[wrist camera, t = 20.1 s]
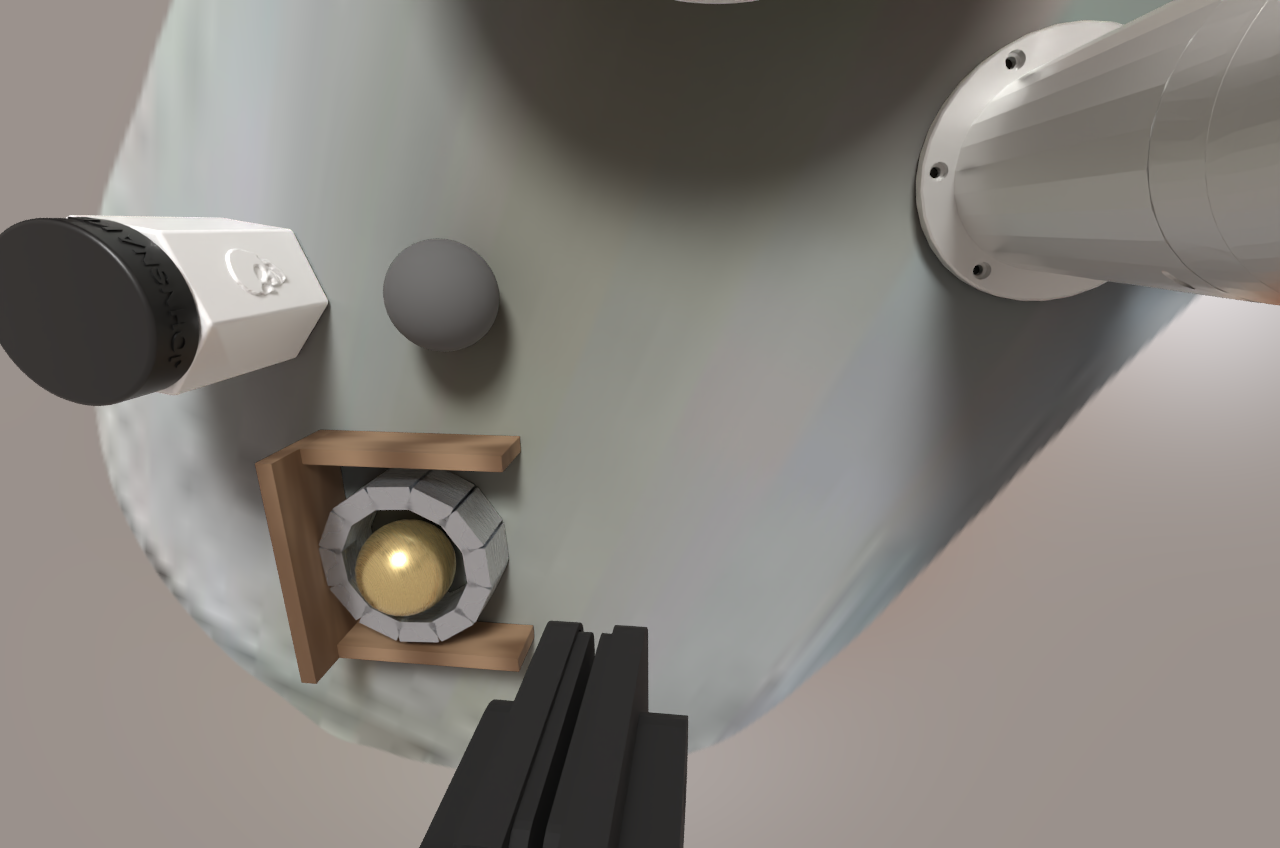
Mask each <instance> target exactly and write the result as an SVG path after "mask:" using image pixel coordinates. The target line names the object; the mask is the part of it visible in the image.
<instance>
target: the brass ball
mask: <svg viewBox="0 0 1280 848" xmlns="http://www.w3.org/2000/svg"><path fill="white" fill-rule="evenodd" d="M455 571H456V556H455V552H454V549H453V546H452V544H451V542H450V540H449V539H448V537H447V536H446V535H445V534H444V533H443V532H442V531H441V530H440V529H438V528H437V527H436V526H434V525H432V524H430V523H427V522H424V521H421V520H414V519H405V520H399V521H395V522H392V523H389V524H387V525H385V526H383V527H381V528H380V529H378V530H377V531H375V532H374V533H373V534H372V535H371V536H370V537H369V538H368V539H367V540H366V542H365V543H364V545H363V546H362V548H361V550H360V552H359V554H358V557H357V561H356V567H355V577H356V582H357V586H358V589H359V591H360V593H361V595H362V596H363V597H364V599H365V600H366V601H367V602H368V603H369V604H370V605H371V606H372V607H374V608H375V609H377V610H379V611H380V612H383V613H386V614H389V615H393V616H410V615H415V614H418V613H421V612H423V611H426V610H428V609H429V608H431V607H432V606H434V605H435V604H436V603H438V602H439V601H440V600H441V599H442V598H443V597H444V596H445V594H446V593H447V591H448V590H449V588H450V586H451V584H452V582H453V579H454V576H455Z"/></svg>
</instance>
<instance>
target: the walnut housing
mask: <svg viewBox="0 0 1280 848" xmlns="http://www.w3.org/2000/svg"><path fill="white" fill-rule="evenodd" d="M520 452H521V446H520V436H494V435H464V434H433V433H403V432H372V431H341V430H318V431H317V432H315V433H313V434H311V435H309V436H307V437H305V438H303V439H301V440H299V441H297V442H295V443H293V444H291V445H289V446H287V447H285V448H283V449H282V450H280V451H278V452H276V453H274V454H272V455H270V456H268V457H266V458H264V459H262V460H260V461H258V462H256V463H255V467H256V472H257V476H258V481H259V486H260V490H261V495H262V500H263V504H264V509H265V514H266V518H267V523H268V528H269V532H270V537H271V542H272V546H273V551H274V556H275V560H276V565H277V570H278V574H279V579H280V584H281V588H282V593H283V598H284V602H285V607H286V612H287V616H288V621H289V626H290V630H291V635H292V640H293V644H294V649H295V654H296V658H297V663H298V668H299V672H300V677H301V682H302V683H313V684H317V682H318V681H319V680H320V679H321V678H322V677H323V676H324V674H325V673H326V672H327V671H328V670H329V669H330V668H331V666H332V665H333V664H334V663H335V662H336V661H337V660H338V658H351V659H363V660H376V661H389V662H402V663H415V664H427V665H440V666H453V667H466V668H479V669H491V670H504V671H517V672H519V671H520V668H521V666H522V664H523V662H524V659H525V657H526V655H527V653H528V650H529V648H530V646H531V644H532V641H533V639H534V629H533V625H519V624H504V623H490V622H475V623H474V624H473V625H472V626H470V627H468V628H466V629H464V630H462V631H461V632H459V633H457V634H455V635H453V636H451V637H450V638H448V639H446V640H444V641H441V640H440V641H439V642H400V640H399V638H398V639H397V641H396V640H394V639H392V638H390V637H388V636H386V635H384V634H382V633H380V632H378V631H376V630H374V629H372V628H369V627H367V626H365V625H363V624H361V623H359V622H360V619H361V618H359V619H358V620H356V619H355V618H354V617H353V616H352V615H351V613H350V612H349V611H348V610H347V609H346V608H345V606H344V605H343V604H342V603H341V602H340V601H339V599H338V598H337V597H336V596H335V595H334V594H333V592H332V591H331V590H330V588H331V587H332V586H328V584H327V580H326V576H325V572H324V568H323V564H322V560H321V556H320V552H319V548H320V547H321V546H319V543H320V540H321V537H322V534H323V532H324V529H325V526H326V523H327V520H328V517H329V514H330V512H331V511H332V510H333V508H335V507H336V506H337V505H339V504H340V503H341V502H343V501H344V500H345V499H346V498H345V492H344V486H343V480H342V474H341V468H340V466H360V467H385V468H410V469H436V470H461V471H486V472H503V471H504V470H505V469H506V468H507V467H508V465H509V464H510V463H511V462H512V461H513V460H514V459H515V457H516V456H517V455H518V454H519V453H520Z"/></svg>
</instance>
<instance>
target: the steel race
mask: <svg viewBox="0 0 1280 848" xmlns="http://www.w3.org/2000/svg"><path fill="white" fill-rule="evenodd" d="M474 486H475V485H474V484H472V483H470V482H468V481H466V480H464V479H462V478H460V477H458V476H456V475H454V474H452V473H450V472H448V471H446V470H436V469H410V468H390V469H388V470H387V471H385V472H384V473H382V474H381V475H379V476H378V477H376V478H375V479H373V480H372V481H370V482H369V483H367V484H366V485H364V486H363V487H362V488H360V489H359V490H358V491H356V492H355V493H353V494H352V495H351V496H349V497H348V498H347V499H345V500H344V501H343V502H341V503H340V504H339V505H337V506H336V507H335V508H333V510H332V511H331V512H330V514H329V517H328V520H327V523H326V526H325V529H324V532H323V534H322V537H321V540H320V543H319V546H321V547H320V548H319V552H320V556H321V560H322V564H323V568H324V572H325V576H326V580H327V584H328V586H332V587H331V588H330V590H331V591H332V592H333V594H334V595H335V596H336V597H337V598H338V599H339V601H340V602H341V603H342V604H343V605H344V606H345V608H346V609H347V610H348V611H349V612H350V613H351V615H352V616H353V617H354V618H355V619H356V620H358V619H359V618H361V619H360V622H359V623H361V624H363V625H365V626H367V627H369V628H372V629H374V630H376V631H378V632H380V633H382V634H384V635H386V636H388V637H390V638H392V639H394V640H396V641H397V639H398V638H399V640H400V642H439V641H440V640H441V641H444V640H446V639H448V638H450V637H451V636H453V635H455V634H457V633H459V632H461V631H462V630H464V629H466V628H468V627H470V626H472V625H473V624H474V623H475V622H476V621H477V619H478V617H479V616H480V614H481V612H482V611H483V609H484V607H485V606H486V604H487V602H488V601H489V599H490V598H491V596H492V594H493V593H494V591H495V589H496V587H497V585H498V583H499V580H500V578H501V576H502V574H503V572H504V570H505V568H506V566H507V564H508V559H509V555H508V548H507V541H506V534H505V527H504V523H500V522H501V521H502V518H501V517H500V516H499V514H498V513H497V512H496V510H495V509H494V508H493V506H492V505H491V504H490V502H489V501H488V500H487V498H486V497H485V496H484V495H483V493H482V492H481V491H480V489H479V488H478V487H477V488H476V489H474V490H473V488H474ZM377 510H410V511H412V512H414V513H416V514H418V515H420V516H422V517H424V518H426V519H428V520H430V521H432V522H435V523H437V524H439V525H441V527H442V528H443V529H444V530H445V532H446V533H447V534H448V535H449V537H450V538H451V539H452V541H453V542H454V543H455V544H456V546H457V547H458V548H459V549H460V551H461V552H462V555H463V560H464V566H465V572H466V578H467V584H466V585H464V586H463V587H461V588H459V589H457V590H456V591H454V592H447V593H446V594H445V596H444V597H443V598H442V599H441V600H440V601H439V602H438V603H436V604H435V605H434V606H432V607H431V608H429V609H428V610H426V611H423V612H421V613H418V614H415V615H410V616H393V615H389V614H386V613H383V612H380V611H379V610H377V609H375V608H374V607H372V606H371V605H370V604H369V603H368V602H367V601H366V600H365V599H364V597H363V596H362V595H361V593H360V591H359V589H358V586H357V582H356V577H355V567H356V561H357V557H358V554H359V552H360V550H361V548H362V546H363V545H364V543H365V542H366V540H367V539H368V538H369V537H370V536H371V535H372V529H371V526H372V523H373V520H374V518H375V515H376V512H377Z"/></svg>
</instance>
